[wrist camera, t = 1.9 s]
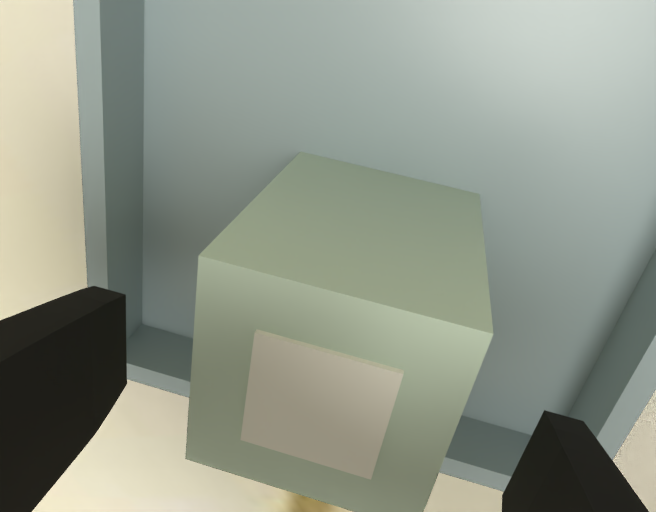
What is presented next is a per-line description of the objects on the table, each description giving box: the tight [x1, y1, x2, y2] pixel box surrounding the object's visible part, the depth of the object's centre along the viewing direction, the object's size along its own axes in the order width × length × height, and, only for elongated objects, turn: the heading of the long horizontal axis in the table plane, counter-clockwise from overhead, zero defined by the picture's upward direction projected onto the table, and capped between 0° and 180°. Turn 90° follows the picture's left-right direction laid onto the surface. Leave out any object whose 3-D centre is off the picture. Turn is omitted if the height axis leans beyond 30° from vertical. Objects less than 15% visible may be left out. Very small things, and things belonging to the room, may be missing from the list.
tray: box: [73, 0, 656, 491], centre depth 11 cm, size 21×14×2 cm
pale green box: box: [186, 152, 493, 512], centre depth 12 cm, size 4×4×6 cm
